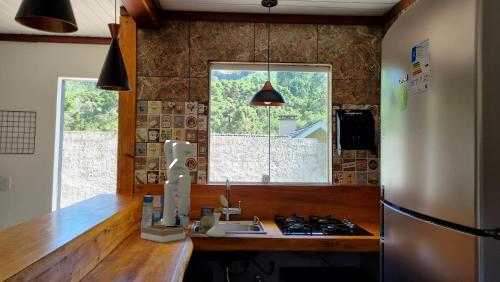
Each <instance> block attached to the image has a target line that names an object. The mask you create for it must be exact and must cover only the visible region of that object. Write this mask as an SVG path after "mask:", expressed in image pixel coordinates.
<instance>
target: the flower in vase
mask: <svg viewBox="0 0 500 282" xmlns="http://www.w3.org/2000/svg"><path fill="white" fill-rule="evenodd" d="M219 199H220V202H221V203H220V205H219V208H217V207H215V210H216V213H213V214H214V217H215V224H214V226H213V227H212V228H211V229H210V230H209V231H208V232H207V233H205V234H206V235H207V236H209V237H212V238H222V237H225V235H226V232H225V231H224V230H223V229H222V228H221V227H220V225H219V221H220V217H221V215H222V213H221V212H223V211H224V208H225V207H226V208H228V206H229V205H228V204H229V202H228V200H227V198H226V197H225V195H224V194H221V195H220V197H219ZM221 205H222V206H224V208H223V207H222V206H221ZM220 211H221V212H220Z"/></svg>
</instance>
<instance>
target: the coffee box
mask: <svg viewBox="0 0 500 282" xmlns="http://www.w3.org/2000/svg"><path fill="white" fill-rule="evenodd" d="M215 208H216V207H215V206H214V207H212V206H201V207H200V213H199V223H198V233H199V234H206V233H207V232H208V231H209V230H210V229H211V228H212V227H213V226H214V224H215V217H214V214H213V213H217V211H216V210H215Z"/></svg>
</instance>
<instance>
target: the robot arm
mask: <svg viewBox="0 0 500 282" xmlns="http://www.w3.org/2000/svg"><path fill="white" fill-rule="evenodd" d="M163 145H164V146H163V150H164V155H165V158H166V177H167V180H166V181H165V182H164V185H163V186H164V187H163V188H164V189H163V190H164V198H163V212H162V218H161V225H165V226H174V224H173V223H174V217H175V219H176V226H178V227H180V216H185V217H189V216H190V215H191V214H192V212H191V198H190V196H191V184H192V177H191V175H190V169H189V167H188V166H186V163H187V158H186V156H187V157H189V156H192V155H193V154H194V146H193V144H192V143H190V142H189V141H185V140H177V139H176V140H175V139H174V140H173V139H167V140H165V142H164V144H163Z"/></svg>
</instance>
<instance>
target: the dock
mask: <svg viewBox="0 0 500 282" xmlns="http://www.w3.org/2000/svg"><path fill="white" fill-rule="evenodd" d="M184 229H185V228H184V227H183V228H181V227H174V228H171V229H170V228H169V229H166V227H165V225H155V226H146V227H142V232H141V231H140V233H141V234H140V238H141V239H142V240H143V239H144V240H150V241H153V242H158V243H164V242H172V241H177V240H182V239H183V240H184V239H186V232H184Z"/></svg>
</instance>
